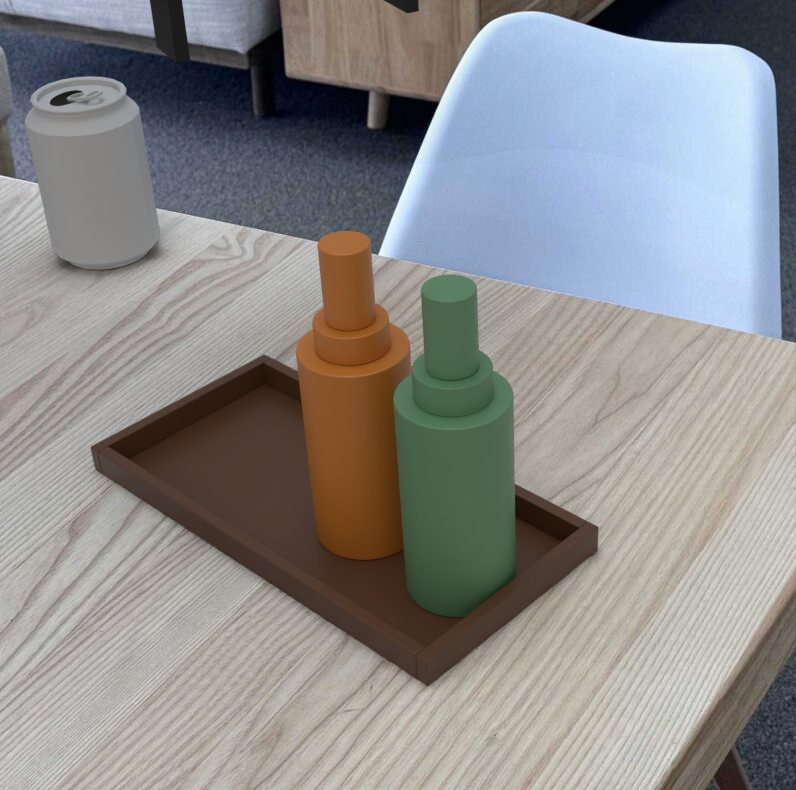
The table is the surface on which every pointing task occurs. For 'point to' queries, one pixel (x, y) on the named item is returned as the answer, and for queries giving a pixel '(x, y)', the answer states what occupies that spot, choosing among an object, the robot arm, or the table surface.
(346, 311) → the amber bottle
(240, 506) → the tray
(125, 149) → the can
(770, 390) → the table surface
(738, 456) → the table surface
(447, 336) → the green bottle
